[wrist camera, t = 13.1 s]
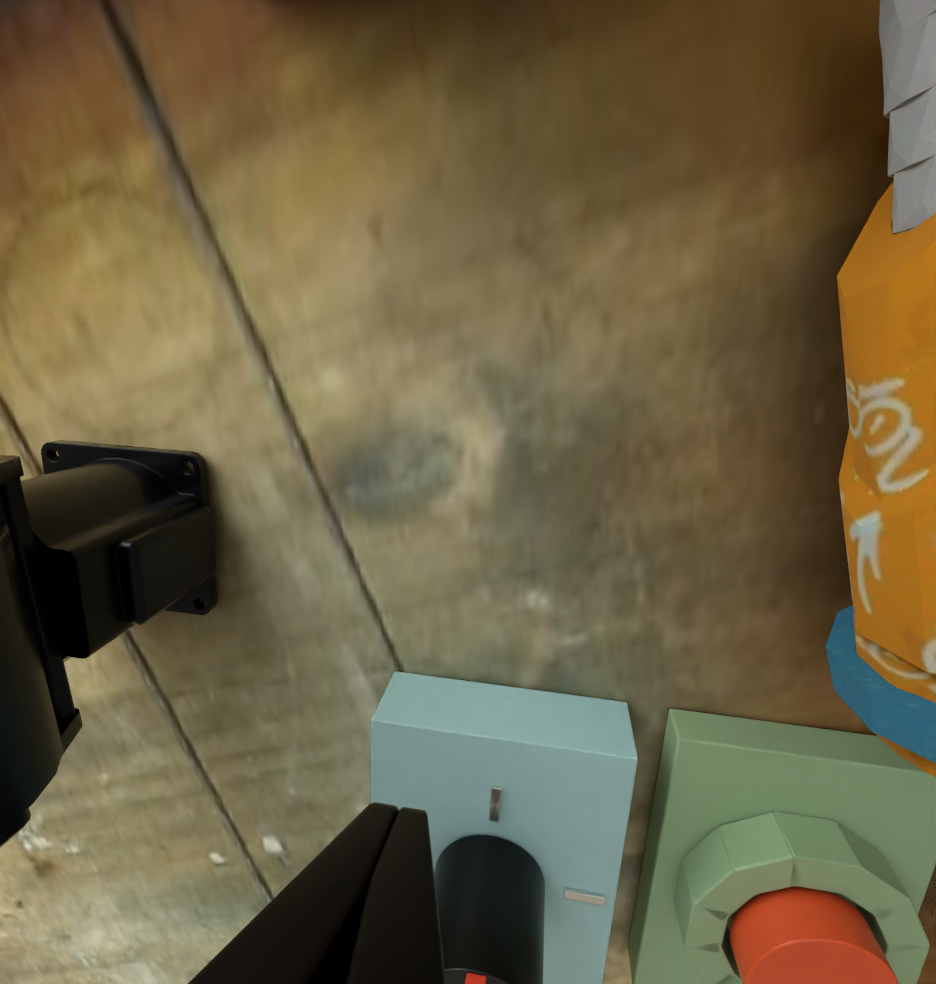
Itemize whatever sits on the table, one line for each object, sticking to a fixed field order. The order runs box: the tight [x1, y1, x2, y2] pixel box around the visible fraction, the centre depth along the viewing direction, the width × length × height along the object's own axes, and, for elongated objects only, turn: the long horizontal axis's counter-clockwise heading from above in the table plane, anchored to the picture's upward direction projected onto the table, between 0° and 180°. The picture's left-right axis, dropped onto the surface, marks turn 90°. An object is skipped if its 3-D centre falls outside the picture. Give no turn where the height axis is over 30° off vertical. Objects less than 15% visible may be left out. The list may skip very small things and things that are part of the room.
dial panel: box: [371, 671, 638, 984], centre depth 22 cm, size 9×12×3 cm
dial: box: [434, 835, 545, 984], centre depth 18 cm, size 4×4×5 cm
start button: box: [730, 887, 899, 984], centre depth 18 cm, size 4×4×2 cm
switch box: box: [628, 709, 936, 984], centre depth 20 cm, size 9×12×4 cm
